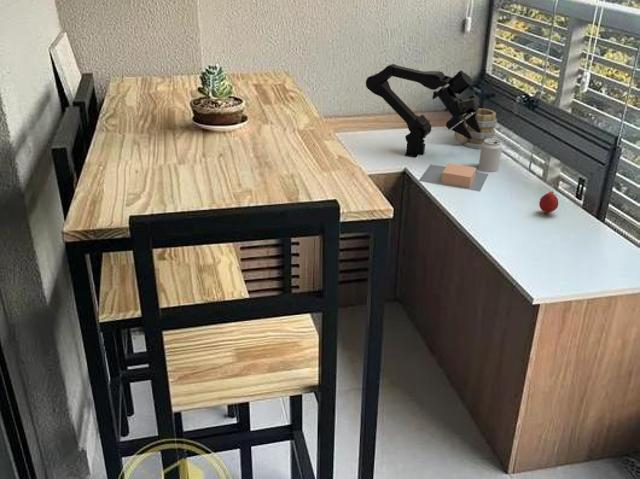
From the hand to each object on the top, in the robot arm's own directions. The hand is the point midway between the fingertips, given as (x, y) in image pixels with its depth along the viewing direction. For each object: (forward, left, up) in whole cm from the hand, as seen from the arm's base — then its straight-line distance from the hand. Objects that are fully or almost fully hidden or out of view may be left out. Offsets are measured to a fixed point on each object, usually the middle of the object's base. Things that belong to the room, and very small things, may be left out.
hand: (475, 135), depth 241 cm
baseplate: (-3, -16, -13) cm, 20 cm away
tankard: (-5, +26, -13) cm, 29 cm away
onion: (+31, -31, -13) cm, 46 cm away
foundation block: (-1, -18, -12) cm, 22 cm away
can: (+7, -1, -13) cm, 15 cm away
